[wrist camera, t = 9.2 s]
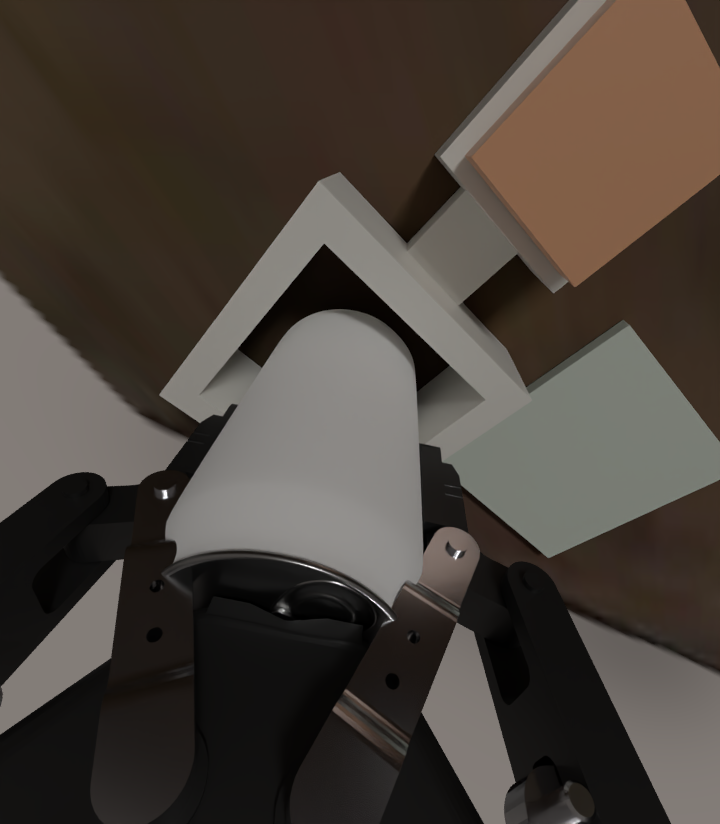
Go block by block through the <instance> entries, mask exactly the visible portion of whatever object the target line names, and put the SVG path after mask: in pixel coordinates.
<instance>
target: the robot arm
mask: <svg viewBox="0 0 720 824" xmlns="http://www.w3.org/2000/svg"><path fill="white" fill-rule="evenodd" d="M237 406H238V405H237V404H231V405H230V406H229V408H228V409H227V411H226V412H225V413H224V415H223V416H219V415H212V416H210V417H209V418H207V419H205V420H203V421H202V422H201V423H200V424H199V426H198V427H197V428H196V430H195V431H194V434H192V435H191V436H190V438H189V439H188V442H186V443H185V444H184V446H183V447H182V449H181V450H180V451H179V452H178V454H177V455H176V456H175V458H174V459H173V461H172V462H171V463H170V464H169V466H168V467H167V469H166V470H165V471H159V472H156V473H153V474H151V475H149V476H148V477H146V478H145V479H144V480H142V482H141V483H140V484H139V485H130V486H108V487H107V485H106V482H105V480H104V479H103V477H101V476H100V475H97V474H95V473H89V472H81V473H75V474H70V475H67V476H65V477H62V478H60V479H59V480H57V481H55V482H54V483H52V484H51V485H50V486H49V487H47V488H46V489H44V490H43V491H42V492H41V493H39V494H38V495H37V496H35V497H34V498H33V499H31V500H30V501H29V502H27V503H26V504H25V505H23V506H22V507H21V508H19V509H18V510H17V511H15V512H14V513H13V514H11V515H10V516H9V517H8V518H6V519H5V520H3V521H2V522H1V523H0V706H1V702H2V695H3V693H2V688H1V686H2V685H3V684H4V682H5V681H6V680H7V679H8V678H9V677H10V676H11V675H12V674H13V673H14V671H15V670H16V669H17V668H18V667H19V666H20V665H21V664H22V663H23V661H25V659H26V658H27V657H28V656H29V655H30V654H31V653H32V652H33V651H34V649H35V648H36V647H37V646H38V645H39V644H40V643H41V642H42V641H43V640H44V638H45V637H46V636H47V635H48V634H49V633H50V632H51V631H52V630H53V629H54V628H55V627H56V625H57V624H58V623H59V622H60V621H61V620H62V619H63V618H64V617H65V616H66V614H67V613H68V612H69V611H70V610H71V609H72V608H73V607H74V606H75V604H76V603H77V602H78V601H79V600H80V599H81V598H82V597H83V596H84V595H85V594H86V592H87V591H88V590H89V589H90V588H91V587H92V586H93V585H94V584H95V583H96V582H97V580H98V579H99V578H100V577H101V576H102V575H103V574H104V573H105V572H106V570H107V569H108V568H109V567H110V566H111V565H112V564H113V563H114V562H115V561H116V560H120V559H124V562H123V571H122V578H121V586H120V594H119V601H118V609H117V617H116V625H115V633H114V641H113V649H112V656H111V659H109V660H108V661H106V662H105V663H103V664H102V665H101V666H99V667H98V668H96V669H95V670H93V671H92V672H90V673H89V674H87V675H86V676H85V677H83V678H82V679H80V680H79V681H77V682H76V683H74V684H73V685H72V686H70V687H69V688H67V689H66V690H64V691H63V692H61V693H60V694H59V695H57V696H56V697H54V698H53V699H52V700H50V701H48V702H47V703H45V704H44V705H43V706H41V707H40V708H38V709H37V710H35V711H34V712H32V713H31V714H30V715H28V716H27V717H25V718H24V719H22V720H21V721H19V722H18V723H17V724H15V725H14V726H12V727H11V728H9V729H8V730H6V731H5V732H4V733H2V734H1V735H0V824H484V823H483V821H482V820H481V818H480V816H479V814H478V812H477V811H476V809H475V807H474V805H473V803H472V802H471V800H470V799H469V796H468V795H467V793H466V791H465V789H464V787H463V786H462V784H461V782H460V780H459V778H458V777H457V775H456V773H455V772H454V770H453V768H452V766H451V765H450V762H449V761H448V759H447V757H446V756H445V754H444V752H443V750H442V748H441V746H440V745H439V743H438V741H437V739H436V738H435V736H434V734H433V732H432V730H431V729H430V727H429V725H428V723H427V721H426V720H425V718H424V716H423V714H422V713H421V711H422V709H423V706H424V703H425V701H426V699H427V696H428V694H429V691H430V688H431V686H432V683H433V681H434V678H435V675H436V673H437V671H438V668H439V666H440V663H441V661H442V658H443V655H444V653H445V650H446V648H447V645H448V643H449V640H450V638H451V635H452V633H453V630H454V628H455V625H456V623H459V624H461V625H463V626H464V627H466V628H468V629H470V630H472V631H474V633H475V637H476V641H477V645H478V648H479V652H480V655H481V659H482V662H483V666H484V670H485V673H486V677H487V681H488V684H489V688H490V691H491V695H492V699H493V702H494V706H495V709H496V713H497V717H498V720H499V724H500V727H501V731H502V735H503V738H504V742H505V745H506V749H507V753H508V756H509V760H510V763H511V767H512V770H513V774H514V778H515V781H516V783H515V784H513V785H512V786H511V787H510V789H509V790H508V792H507V794H506V798H505V804H504V814H505V821H506V824H671V823H670V821H669V819H668V816H667V814H666V812H665V810H664V808H663V806H662V804H661V802H660V800H659V798H658V796H657V794H656V792H655V790H654V788H653V786H652V783H651V781H650V779H649V777H648V775H647V773H646V771H645V769H644V767H643V765H642V763H641V761H640V759H639V757H638V755H637V753H636V751H635V748H634V746H633V744H632V742H631V740H630V738H629V736H628V734H627V732H626V730H625V728H624V726H623V724H622V722H621V720H620V717H619V715H618V713H617V711H616V709H615V707H614V705H613V703H612V701H611V699H610V697H609V695H608V693H607V691H606V689H605V687H604V684H603V682H602V680H601V678H600V676H599V674H598V672H597V670H596V668H595V666H594V664H593V662H592V660H591V658H590V656H589V654H588V651H587V649H586V647H585V645H584V643H583V641H582V639H581V637H580V635H579V633H578V631H577V629H576V627H575V625H574V623H573V621H572V618H571V616H570V614H569V612H568V610H567V608H566V606H565V604H564V602H563V600H562V598H561V596H560V594H559V592H558V590H557V588H556V585H555V584H554V582H553V580H552V579H551V578H550V577H549V575H548V574H547V573H546V572H544V571H543V570H542V569H540V568H539V567H537V566H536V565H533V564H531V563H528V562H515V563H513V564H512V565H511V566H510V567H509V568H508V567H506V566H504V565H502V564H500V563H498V562H496V561H493V560H491V559H490V558H488V557H486V556H485V555H483V554H482V553H481V552H480V550H479V547H478V545H477V543H476V541H475V540H474V539H473V538H472V537H471V536H470V535H469V534H468V528H467V522H466V515H465V509H464V503H463V499H462V497H463V496H462V490H461V484H460V477H459V475H458V473H457V472H456V470H455V468H454V467H453V465H452V464H448V463H443V462H442V458H441V449H440V447H436V446H431V445H426V444H421V443H419V454H420V476H421V501H422V527H423V567H422V574H421V576H420V579H419V581H418V582H417V583H416V584H415V583H413V582H411V581H410V580H407V582H406V583H405V585H404V587H403V588H402V590H401V592H400V594H399V595H398V597H397V599H396V601H395V602H394V604H393V606H392V610H393V611H394V612H395V614H396V616H397V619H396V620H395V621H392V620H389V619H388V618H387V617H386V618H385V620H384V622H383V624H382V625H381V627H380V629H379V631H378V632H377V634H376V636H375V638H374V640H373V641H372V643H370V642H369V641H367V640H365V639H364V638H362V631H363V626H362V625H357V624H352V623H347V622H342V621H337V620H332V619H327V618H325V619H310V620H295V621H286V620H283V619H281V618H279V617H277V616H275V615H273V614H271V613H269V612H267V611H265V610H263V609H261V608H259V607H257V606H255V605H253V604H251V603H246V602H241V601H236V600H231V599H226V598H221V597H216V596H213V598H212V600H211V603H210V605H209V607H208V608H201V609H196V610H194V581H193V569H192V566H189V567H186V568H184V569H181V570H179V571H177V572H175V573H173V574H171V575H170V576H163V575H162V574H161V572H162V571H163V570H164V569H165V568H167V567H168V566H170V565H171V564H173V562H174V559H175V557H176V553H177V544H176V542H175V540H173V539H169V540H166V539H165V530H166V522H167V520H168V518H169V516H170V514H171V511H172V510H173V508H174V506H175V505H176V503H177V501H178V499H179V498H180V496H181V494H182V493H183V491H184V489H185V488H186V486H187V485H188V483H189V481H190V480H191V478H192V477H193V475H194V473H195V472H196V470H197V469H198V467H199V466H200V464H201V462H202V461H203V459H204V458H205V456H206V454H207V453H208V451H209V450H210V448H211V447H212V445H213V444H214V442H215V440H216V439H217V437H218V436H219V434H220V433H221V431H222V429H223V428H224V426H225V425H226V423H227V422H228V420H229V419H230V417H231V415H232V414H233V412H234V411H235V409H236V408H237Z"/></svg>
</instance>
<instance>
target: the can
mask: <svg viewBox="0 0 720 824" xmlns="http://www.w3.org/2000/svg"><path fill="white" fill-rule="evenodd" d="M165 539H166V540H169V539H173V540H175V542H176V544H177V553H176V557H175V559H174V562H173V564H171V565H170V566H168V567H167V568H165V569H164V570H163V571H162V572H161V574H162V575H163V576H170V575H171V574H173V573H175V572H177V571H179V570H181V569H184V568H186V567H189V566H192V569H193V581H194V610H196V609H201V608H208V607H209V605H210V603H211V600H212V598H213V596H216V597H221V598H226V599H231V600H236V601H241V602H246V603H251V604H253V605H255V606H257V607H259V608H261V609H263V610H265V611H267V612H269V613H271V614H273V615H275V616H277V617H279V618H281V619H283V620H286V621H295V620H310V619H325V618H327V619H332V620H337V621H342V622H347V623H352V624H357V625H362V626H363V631H362V638H364V639H365V640H367V641H369V642H370V643H372V641H373V640H374V638H375V636H376V634H377V632H378V631H379V629H380V627H381V625H382V624H383V622H384V620H385V618H386V617H387V618H388V619H389V620H392V621H395V620H396V619H397V616H396V614H395V612H394V611H393V610H392V606H393V604H394V602H395V601H396V599H397V597H398V595H399V594H400V592H401V590H402V588H403V587H404V585H405V583H406V582H407V580H410V581H411V582H413V583H415V584H416V583H417V582H418V581H419V579H420V576H421V574H422V567H423V527H422V501H421V476H420V454H419V432H418V410H417V391H416V376H415V367H414V362H413V358H412V355H411V353H410V351H409V349H408V348H407V346H406V345H405V343H404V342H403V340H402V339H401V338H400V337H399V336H398V335H397V334H396V333H395V332H394V331H393V330H392V329H391V328H390V327H389V326H387V325H386V324H385V323H383V322H382V321H380V320H379V319H377V318H375V317H373V316H371V315H368V314H365V313H362V312H359V311H354V310H347V309H332V310H325V311H321V312H317V313H314V314H311V315H309V316H307V317H305V318H303V319H302V320H300V321H299V322H297V323H296V324H295V325H293V326H292V327H291V328H290V329H289V330H288V331H287V333H286V334H285V335H284V336H283V338H282V339H281V340H280V342H279V343H278V345H277V346H276V348H275V349H274V351H273V352H272V354H271V355H270V357H269V358H268V360H267V361H266V363H265V364H264V366H263V367H262V369H261V371H260V372H259V374H258V375H257V377H256V378H255V380H254V381H253V383H252V384H251V386H250V388H249V389H248V391H247V392H246V394H245V395H244V397H243V398H242V400H241V401H240V403H239V405H238V406H237V408H236V409H235V411H234V412H233V414H232V415H231V417H230V419H229V420H228V422H227V423H226V425H225V426H224V428H223V429H222V431H221V433H220V434H219V436H218V437H217V439H216V440H215V442H214V444H213V445H212V447H211V448H210V450H209V451H208V453H207V454H206V456H205V458H204V459H203V461H202V462H201V464H200V466H199V467H198V469H197V470H196V472H195V473H194V475H193V477H192V478H191V480H190V481H189V483H188V485H187V486H186V488H185V489H184V491H183V493H182V494H181V496H180V498H179V499H178V501H177V503H176V505H175V506H174V508H173V510H172V511H171V514H170V516H169V518H168V520H167V522H166V530H165Z"/></svg>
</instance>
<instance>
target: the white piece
mask: <svg viewBox="0 0 720 824" xmlns="http://www.w3.org/2000/svg"><path fill="white" fill-rule="evenodd" d="M605 1H606V0H569V1H568V2H567V3H566V4H565V5H564V7H563V8H562V9H561V10H560V11H559V12H558V13H557V15H556V16H555V17H554V18H553V19H552V20H551V22H550V23H549V24H548V25H547V26H546V27H545V28H544V30H543V31H542V32H541V33H540V34H539V35H538V36H537V38H536V39H535V40H534V41H533V42H532V43H531V44H530V46H529V47H528V48H527V49H526V50H525V51H524V52H523V54H522V55H521V56H520V57H519V58H518V59H517V60H516V62H515V63H514V64H513V65H512V66H511V67H510V68H509V70H508V71H507V72H506V73H505V74H504V75H503V77H502V78H501V79H500V80H499V81H498V82H497V83H496V85H495V86H494V87H493V88H492V89H491V90H490V91H489V93H488V94H487V95H486V96H485V97H484V98H483V99H482V101H481V102H480V103H479V104H478V105H477V106H476V107H475V109H474V110H473V111H472V112H471V113H470V114H469V115H468V117H467V118H466V119H465V120H464V121H463V122H462V124H461V125H460V126H459V127H458V128H457V129H456V130H455V132H454V133H453V134H452V135H451V136H450V137H449V138H448V140H447V141H446V142H445V143H444V144H443V145H442V146H441V148H440V149H439V150H438V151H437V152H436V153H435V154H434V155H435V156H436V157H437V159H438V160H439V161H440V162H441V164H442V165H443V166H444V167H445V168H446V170H447V171H448V172H449V173H450V174H451V176H452V177H453V178H454V179H455V180H456V182H457V183H458V184H459V185H460V186H461V187H460V188H459V189H458V190H457V191H456V192H455V193H454V194H453V195H452V196H451V197H450V199H449V200H448V201H447V202H446V203H445V204H444V205H443V206H442V207H441V208H440V209H439V210H438V211H437V212H436V213H435V214H434V215H433V216H432V218H431V219H430V220H429V221H428V222H427V223H426V224H425V225H424V226H423V227H422V228H421V229H420V230H419V231H418V232H417V233H416V234H415V235H414V237H413V238H412V239H411V240H410V241H409V242H408V243H406V242H405V241H404V240H403V239H402V238H401V236H400V235H399V234H398V233H397V232H396V231H395V230H394V229H393V228H392V227H391V226H390V225H389V224H388V223H387V222H386V221H385V220H384V218H383V217H382V216H381V215H380V214H379V213H378V212H377V211H376V210H375V209H374V208H373V207H372V206H371V205H370V204H369V203H368V201H367V200H366V199H365V198H364V197H363V196H362V195H361V194H360V193H359V192H358V191H357V190H356V189H355V188H354V187H353V186H352V184H351V183H350V182H349V181H348V180H347V179H346V178H345V177H344V176H343V175H342V174H341V173H340V172H339V173H337V174H334V175H332V176H329V177H327V178H325V179H322V180H320V181H318V183H317V184H316V185H315V187H314V188H313V189H312V191H311V192H310V193H309V195H308V196H307V198H306V199H305V200H304V202H303V203H302V204H301V206H300V207H299V208H298V210H297V211H296V212H295V214H294V215H293V216H292V218H291V219H290V220H289V222H288V223H287V224H286V226H285V227H284V228H283V230H282V231H281V232H280V234H279V235H278V236H277V238H276V239H275V240H274V242H273V243H272V244H271V246H270V247H269V248H268V250H267V251H266V252H265V254H264V255H263V256H262V258H261V259H260V260H259V262H258V263H257V265H256V266H255V267H254V269H253V270H252V271H251V273H250V274H249V275H248V277H247V278H246V279H245V281H244V282H243V283H242V285H241V286H240V287H239V289H238V290H237V291H236V293H235V294H234V295H233V297H232V298H231V299H230V301H229V302H228V303H227V305H226V306H225V307H224V309H223V310H222V311H221V313H220V314H219V315H218V317H217V318H216V319H215V321H214V322H213V323H212V325H211V326H210V327H209V329H208V330H207V331H206V333H205V334H204V336H203V337H202V338H201V340H200V341H199V342H198V344H197V345H196V346H195V348H194V349H193V350H192V352H191V353H190V354H189V356H188V357H187V358H186V360H185V361H184V362H183V364H182V365H181V366H180V368H179V369H178V370H177V372H176V373H175V374H174V376H173V377H172V378H171V380H170V381H169V382H168V384H167V385H166V386H165V388H164V389H163V390H162V392H161V393H160V394H159V395H160V396H161V397H163V398H164V399H166V400H167V401H169V402H170V403H172V404H173V405H174V406H176V407H177V408H179V409H180V410H182V411H183V412H185V413H186V414H187V415H189V416H190V417H192V418H193V419H195V420H196V421H198V422H199V423H201V422H202V421H203V420H205V419H207V418H209V417H210V416H212V415H219V416H223V415H224V413H225V412H226V411H227V409H228V408H229V406H230V405H231V404H237V405H239V403H240V401H241V400H242V398H243V397H244V395H245V394H246V392H247V391H248V389H249V388H250V386H251V384H252V383H253V381H254V380H255V378H256V377H257V375H258V374H259V372H260V371H261V369H262V368H261V367H260V366H259V365H257V364H256V363H255V362H254V361H252V360H251V359H250V358H249V357H247V356H246V355H245V354H243V353H242V352H241V351H240V350H238V347H239V346H240V345H241V344H242V342H243V341H244V340H245V339H246V338H247V336H248V335H249V334H250V333H251V332H252V330H253V329H254V328H255V327H256V325H257V324H258V323H259V322H260V321H261V319H262V318H263V317H264V316H265V315H266V313H267V312H268V311H269V310H270V308H271V307H272V306H273V305H274V304H275V302H276V301H277V300H278V299H279V298H280V296H281V295H282V294H283V293H284V291H285V290H286V289H287V288H288V287H289V285H290V284H291V283H292V282H293V281H294V279H295V278H296V277H297V276H298V274H299V273H300V272H301V271H302V270H303V268H304V267H305V266H306V265H307V264H308V262H309V261H310V260H311V259H312V257H313V256H314V255H315V254H316V253H317V251H318V250H319V249H320V248H321V247H322V245H323V244H325V245H326V246H327V247H328V248H329V249H331V250H332V251H333V252H334V253H335V254H336V255H337V256H338V257H339V258H340V259H341V260H342V261H343V262H344V263H345V264H346V265H347V266H348V267H349V268H350V269H351V270H352V271H353V272H354V273H355V274H356V275H357V276H358V277H359V278H360V279H361V280H362V281H364V282H365V283H366V284H367V285H368V286H369V287H370V288H371V289H372V290H373V291H374V292H375V293H376V294H377V295H378V296H379V297H380V298H381V299H382V300H383V301H384V302H385V303H386V304H387V305H388V306H389V307H390V308H391V309H392V310H393V311H394V312H396V313H397V314H398V315H399V316H400V317H401V318H402V319H403V320H404V321H405V322H406V323H407V324H408V325H409V326H410V327H411V328H412V329H413V330H414V331H415V332H416V333H417V334H418V335H419V336H420V337H421V338H422V339H423V340H424V341H425V342H426V343H427V344H429V345H430V346H431V347H432V348H433V349H434V350H435V351H436V352H437V353H438V354H439V355H440V356H441V357H442V358H443V359H444V360H445V361H446V362H447V363H448V364H449V365H450V366H448V367H447V368H446V369H445V370H444V371H442V372H441V373H440V374H439V375H437V376H436V377H435V378H434V379H432V380H431V381H430V382H429V383H427V384H426V385H425V386H424V387H422V388H421V389H420V390H419V391H418V392H417V410H418V432H419V443H421V444H426V445H431V446H436V447H440V449H441V458H442V461H444V460H445V459H447V458H448V457H450V456H451V455H452V454H454V453H455V452H457V451H458V450H460V449H461V448H463V447H464V446H466V445H467V444H469V443H470V442H472V441H473V440H475V439H476V438H478V437H479V436H481V435H482V434H484V433H485V432H487V431H488V430H490V429H491V428H492V427H494V426H495V425H497V424H498V423H500V422H501V421H503V420H504V419H506V418H507V417H509V416H510V415H512V414H513V413H515V412H516V411H518V410H519V409H521V408H522V407H524V406H525V405H527V404H528V403H530V402H531V401H532V399H531V397H530V395H529V393H528V391H527V389H526V387H525V385H524V383H523V381H522V379H521V377H520V375H519V373H518V371H517V369H516V367H515V365H514V363H513V361H512V359H511V357H510V355H509V353H508V351H507V349H506V348H505V347H504V346H503V345H502V344H501V343H500V342H499V341H498V339H497V338H496V337H495V336H494V335H493V334H492V333H491V332H490V331H489V330H488V329H487V328H486V327H485V326H484V325H483V324H482V323H481V321H480V320H479V319H478V318H477V317H476V316H475V315H474V314H473V313H472V312H471V311H470V310H469V309H468V308H467V307H466V306H465V304H464V303H463V301H464V300H465V299H467V298H468V297H469V296H470V295H471V294H472V293H473V292H474V291H476V290H477V289H478V288H479V287H480V286H481V285H482V284H483V283H485V282H486V281H487V280H488V279H489V278H490V277H491V276H492V275H494V274H495V273H496V272H497V271H498V270H499V269H500V268H502V267H503V266H504V265H505V264H506V263H507V262H508V261H509V260H511V259H512V258H513V257H514V256H515V255H516V254H517V255H518V256H519V257H520V258H521V260H522V261H523V262H524V263H525V264H526V266H527V267H528V268H529V269H530V270H531V272H532V273H533V274H534V275H535V276H536V277H537V278H538V279H539V280H540V281H541V282H542V283H543V284H544V285H545V286H546V287H547V288H548V289H549V290H550V291H551V292H552V293H555V292H556V291H557V290H558V289H560V288H561V287H562V286H563V285H565V284H566V283H567V282H568V281H567V280H566V279H565V278H563V277H562V276H561V275H560V274H559V273H558V272H557V270H556V269H555V268H554V267H553V265H552V264H551V263H550V262H549V260H548V259H547V258H546V257H545V255H544V254H543V253H542V252H541V250H540V249H539V248H538V247H537V245H536V244H535V243H534V242H533V240H532V239H531V238H530V237H529V236H528V234H527V233H526V232H525V231H524V229H523V228H522V227H521V226H520V224H519V223H518V222H517V221H516V219H515V218H514V217H513V216H512V214H511V213H510V212H509V211H508V209H507V208H506V207H505V206H504V204H503V203H502V202H501V201H500V199H499V198H498V197H497V196H496V194H495V193H494V192H493V191H492V189H491V188H490V187H489V186H488V184H487V183H486V182H485V181H484V180H483V178H482V177H481V176H480V175H479V173H478V172H477V171H476V170H475V168H474V167H473V166H472V165H471V163H470V162H469V161H468V160H467V158H466V157H465V155H466V154H467V152H468V151H469V150H470V149H471V148H472V147H473V146H474V145H475V144H476V143H477V142H478V140H479V139H480V138H481V137H482V136H483V135H484V134H485V133H486V132H487V131H488V130H489V128H490V127H491V126H492V125H493V124H494V123H495V122H496V121H497V120H498V119H499V117H500V116H501V115H502V114H503V113H504V112H505V111H506V110H507V109H508V108H509V107H510V105H511V104H512V103H513V102H514V101H515V100H516V99H517V98H518V97H519V96H520V94H521V93H522V92H523V91H524V90H525V89H526V88H527V87H528V86H529V85H530V84H531V82H532V81H533V80H534V79H535V78H536V77H537V76H538V75H539V74H540V73H541V72H542V70H543V69H544V68H545V67H546V66H547V65H548V64H549V63H550V62H551V61H552V59H553V58H554V57H555V56H556V55H557V54H558V53H559V52H560V51H561V50H562V49H563V47H564V46H565V45H566V44H567V43H568V42H569V41H570V40H571V39H572V38H573V36H574V35H575V34H576V33H577V32H578V31H579V30H580V29H581V28H582V27H583V26H584V24H585V23H586V22H587V21H588V20H589V19H590V18H591V17H592V16H593V15H594V14H595V12H596V11H597V10H598V9H599V8H600V7H601V6H602V5H603V4H604V3H605Z"/></svg>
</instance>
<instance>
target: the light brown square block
mask: <svg viewBox="0 0 720 824" xmlns="http://www.w3.org/2000/svg"><path fill="white" fill-rule="evenodd" d="M465 157H466V158H467V160H468V161H469V162H470V163H471V165H472V166H473V167H474V168H475V170H476V171H477V172H478V173H479V175H480V176H481V177H482V178H483V180H484V181H485V182H486V183H487V184H488V186H489V187H490V188H491V189H492V191H493V192H494V193H495V194H496V196H497V197H498V198H499V199H500V201H501V202H502V203H503V204H504V206H505V207H506V208H507V209H508V211H509V212H510V213H511V214H512V216H513V217H514V218H515V219H516V221H517V222H518V223H519V224H520V226H521V227H522V228H523V229H524V231H525V232H526V233H527V234H528V236H529V237H530V238H531V239H532V240H533V242H534V243H535V244H536V245H537V247H538V248H539V249H540V250H541V252H542V253H543V254H544V255H545V257H546V258H547V259H548V260H549V262H550V263H551V264H552V265H553V267H554V268H555V269H556V270H557V272H558V273H559V274H560V275H561V276H562V277H563V278H565V279H566V280H567V281H568V282H569V283H571V284H572V285H573V286H574V287H576V286H578V285H579V284H580V283H581V282H583V281H584V280H585V279H587V278H588V277H589V276H590V275H592V274H593V273H594V272H595V271H597V270H598V269H599V268H601V267H602V266H603V265H604V264H606V263H607V262H608V261H610V260H611V259H612V258H613V257H615V256H616V255H617V254H619V253H620V252H621V251H622V250H624V249H625V248H626V247H628V246H629V245H630V244H631V243H633V242H634V241H635V240H637V239H638V238H639V237H640V236H642V235H643V234H644V233H645V232H647V231H648V230H649V229H651V228H652V227H653V226H654V225H656V224H657V223H658V222H660V221H661V220H662V219H663V218H665V217H666V216H667V215H669V214H670V213H671V212H672V211H674V210H675V209H676V208H678V207H679V206H680V205H681V204H683V203H684V202H685V201H687V200H688V199H689V198H690V197H692V196H693V195H694V194H696V193H697V192H698V191H699V190H701V189H702V188H703V187H704V186H706V185H707V184H708V183H710V182H711V181H712V180H713V179H715V178H716V177H717V176H719V175H720V68H719V66H718V64H717V62H716V60H715V58H714V56H713V54H712V52H711V50H710V48H709V46H708V44H707V42H706V40H705V38H704V36H703V34H702V32H701V30H700V28H699V26H698V24H697V22H696V20H695V18H694V17H693V15H692V13H691V11H690V9H689V7H688V5H687V3H686V1H685V0H606V1H605V3H604V4H603V5H602V6H601V7H600V8H599V9H598V10H597V11H596V12H595V14H594V15H593V16H592V17H591V18H590V19H589V20H588V21H587V22H586V23H585V24H584V26H583V27H582V28H581V29H580V30H579V31H578V32H577V33H576V34H575V35H574V36H573V38H572V39H571V40H570V41H569V42H568V43H567V44H566V45H565V46H564V47H563V49H562V50H561V51H560V52H559V53H558V54H557V55H556V56H555V57H554V58H553V59H552V61H551V62H550V63H549V64H548V65H547V66H546V67H545V68H544V69H543V70H542V72H541V73H540V74H539V75H538V76H537V77H536V78H535V79H534V80H533V81H532V82H531V84H530V85H529V86H528V87H527V88H526V89H525V90H524V91H523V92H522V93H521V94H520V96H519V97H518V98H517V99H516V100H515V101H514V102H513V103H512V104H511V105H510V107H509V108H508V109H507V110H506V111H505V112H504V113H503V114H502V115H501V116H500V117H499V119H498V120H497V121H496V122H495V123H494V124H493V125H492V126H491V127H490V128H489V130H488V131H487V132H486V133H485V134H484V135H483V136H482V137H481V138H480V139H479V140H478V142H477V143H476V144H475V145H474V146H473V147H472V148H471V149H470V150H469V151H468V152H467V154H466V155H465Z"/></svg>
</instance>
